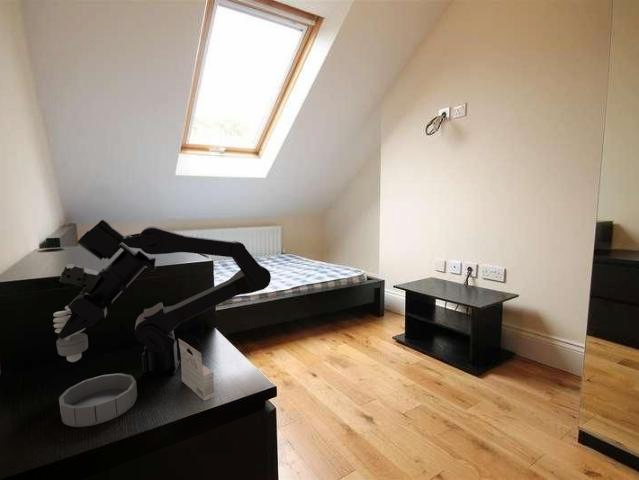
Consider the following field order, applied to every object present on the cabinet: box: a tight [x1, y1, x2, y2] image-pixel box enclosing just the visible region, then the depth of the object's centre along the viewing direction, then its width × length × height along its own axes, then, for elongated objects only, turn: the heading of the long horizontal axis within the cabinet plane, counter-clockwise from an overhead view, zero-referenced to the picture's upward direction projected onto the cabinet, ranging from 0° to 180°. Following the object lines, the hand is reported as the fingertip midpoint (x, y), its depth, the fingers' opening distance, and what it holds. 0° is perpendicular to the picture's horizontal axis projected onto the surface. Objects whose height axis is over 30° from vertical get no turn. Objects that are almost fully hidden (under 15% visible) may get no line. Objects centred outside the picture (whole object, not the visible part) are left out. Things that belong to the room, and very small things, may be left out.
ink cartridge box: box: [177, 338, 215, 402], centre depth 72 cm, size 2×11×10 cm, turn 43°
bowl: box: [58, 372, 138, 428], centre depth 67 cm, size 12×12×4 cm
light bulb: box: [52, 305, 89, 363], centre depth 73 cm, size 6×6×12 cm
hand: (63, 332), depth 72 cm, fingers closed on light bulb, 5 cm apart
